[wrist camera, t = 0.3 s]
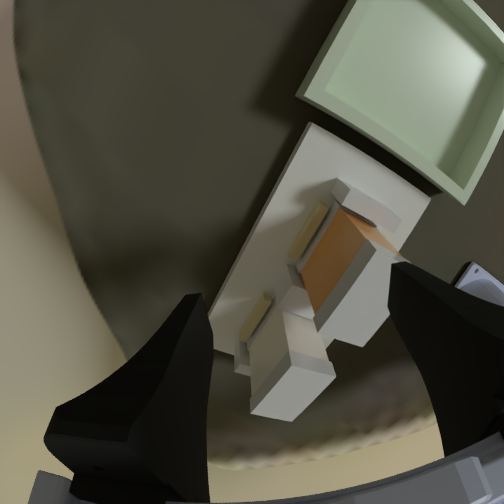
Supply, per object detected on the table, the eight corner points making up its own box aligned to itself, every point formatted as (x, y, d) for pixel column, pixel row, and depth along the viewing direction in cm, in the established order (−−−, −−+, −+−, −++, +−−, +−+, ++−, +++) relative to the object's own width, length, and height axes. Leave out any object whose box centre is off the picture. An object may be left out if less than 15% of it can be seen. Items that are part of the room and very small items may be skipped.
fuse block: (424, 194, 20) (450, 211, 17) (302, 366, 28) (308, 396, 24) (308, 121, 18) (323, 126, 15) (196, 334, 25) (192, 365, 22)
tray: (504, 62, 15) (528, 64, 13) (443, 192, 20) (464, 205, 18) (376, -49, 12) (393, -63, 10) (294, 96, 17) (304, 95, 15)
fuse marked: (370, 218, 20) (420, 273, 14) (331, 278, 22) (362, 347, 16) (333, 199, 19) (376, 250, 13) (295, 263, 21) (317, 333, 15)
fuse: (313, 305, 23) (336, 376, 17) (280, 350, 25) (291, 421, 19) (277, 291, 22) (291, 365, 16) (246, 339, 24) (250, 413, 18)
